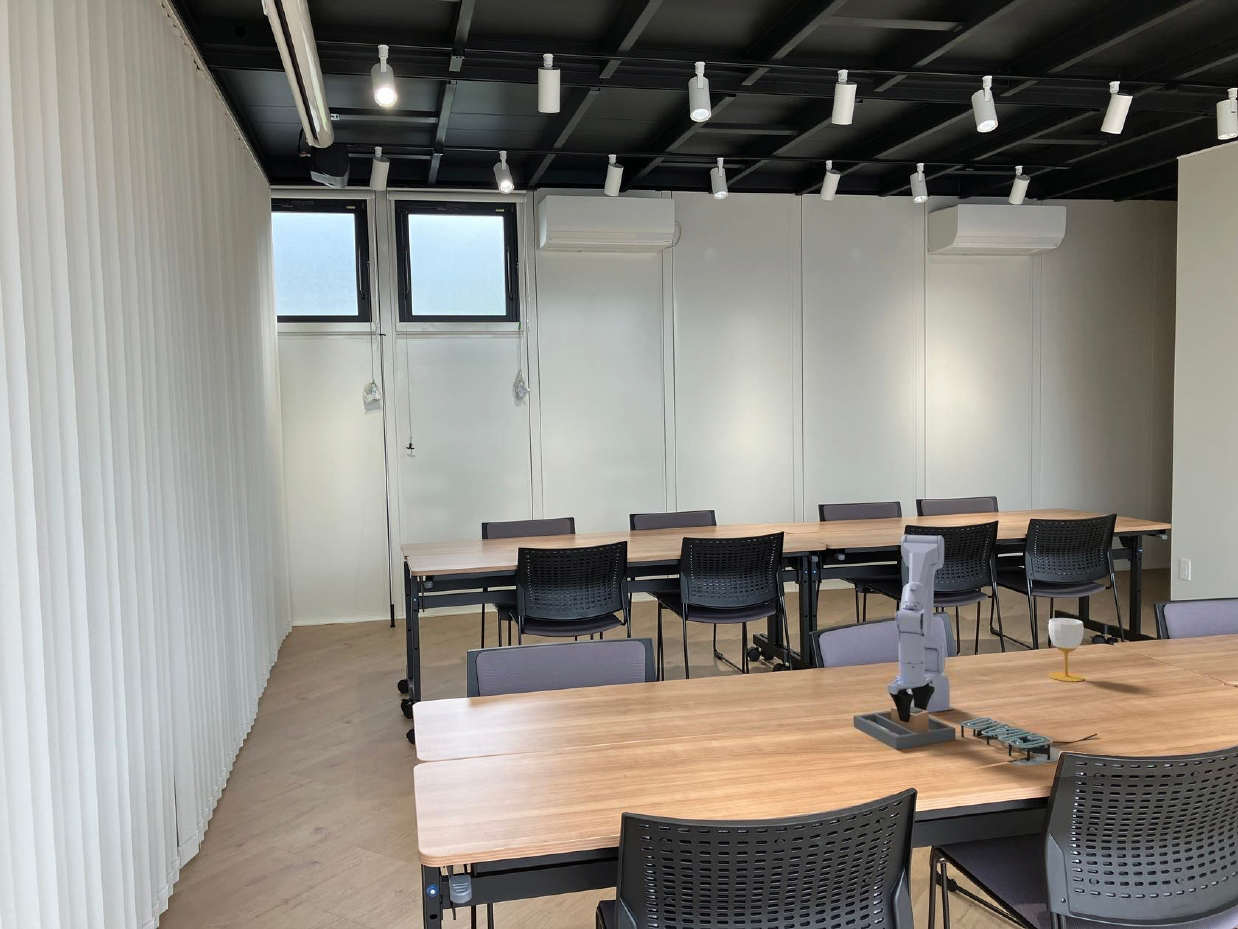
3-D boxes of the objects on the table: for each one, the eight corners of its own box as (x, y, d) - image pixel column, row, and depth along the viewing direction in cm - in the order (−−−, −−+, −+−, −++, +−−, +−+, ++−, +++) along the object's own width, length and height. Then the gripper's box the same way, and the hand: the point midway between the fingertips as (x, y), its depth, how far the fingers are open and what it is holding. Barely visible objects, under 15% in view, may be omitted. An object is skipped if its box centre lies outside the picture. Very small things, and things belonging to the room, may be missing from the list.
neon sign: (1119, 728, 188) (1024, 750, 176) (1119, 747, 188) (1024, 771, 176) (1037, 702, 207) (946, 720, 195) (1038, 719, 207) (946, 738, 195)
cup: (1090, 681, 235) (1090, 624, 235) (1058, 682, 235) (1057, 625, 235) (1073, 672, 244) (1073, 617, 244) (1042, 673, 245) (1041, 618, 244)
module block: (904, 724, 203) (903, 702, 202) (928, 732, 197) (928, 710, 197) (891, 728, 200) (890, 706, 200) (916, 737, 194) (915, 714, 194)
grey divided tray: (909, 719, 207) (909, 707, 207) (955, 741, 192) (955, 728, 192) (853, 728, 202) (853, 715, 202) (896, 751, 187) (896, 737, 187)
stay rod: (866, 729, 201) (863, 722, 201) (872, 725, 201) (869, 718, 201) (898, 746, 190) (894, 739, 189) (905, 741, 190) (901, 734, 190)
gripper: (917, 652, 205) (917, 708, 205) (876, 662, 197) (877, 720, 197) (942, 658, 199) (943, 716, 199) (901, 669, 191) (902, 728, 191)
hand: (912, 718), depth 198 cm, fingers open, 5 cm apart
